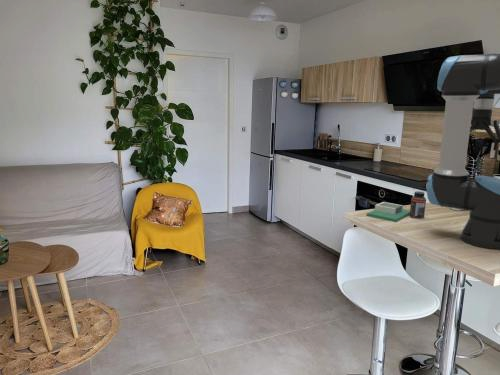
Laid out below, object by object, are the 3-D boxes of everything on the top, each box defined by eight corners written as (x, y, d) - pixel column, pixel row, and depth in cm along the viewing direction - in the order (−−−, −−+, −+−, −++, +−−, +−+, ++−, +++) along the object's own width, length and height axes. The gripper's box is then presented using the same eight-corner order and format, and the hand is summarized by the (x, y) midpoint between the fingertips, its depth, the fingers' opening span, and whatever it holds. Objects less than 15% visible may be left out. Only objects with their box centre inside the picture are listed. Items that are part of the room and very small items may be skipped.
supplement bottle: (407, 214, 168) (410, 190, 166) (421, 215, 168) (424, 191, 166) (411, 218, 163) (415, 193, 160) (426, 219, 162) (429, 193, 160)
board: (395, 222, 157) (396, 213, 156) (366, 215, 165) (367, 207, 164) (412, 213, 171) (413, 205, 170) (384, 207, 180) (385, 200, 179)
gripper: (517, 109, 161) (509, 158, 165) (457, 108, 180) (451, 152, 184) (511, 108, 156) (502, 159, 160) (450, 108, 176) (444, 153, 180)
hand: (475, 156), depth 172 cm, fingers open, 13 cm apart
